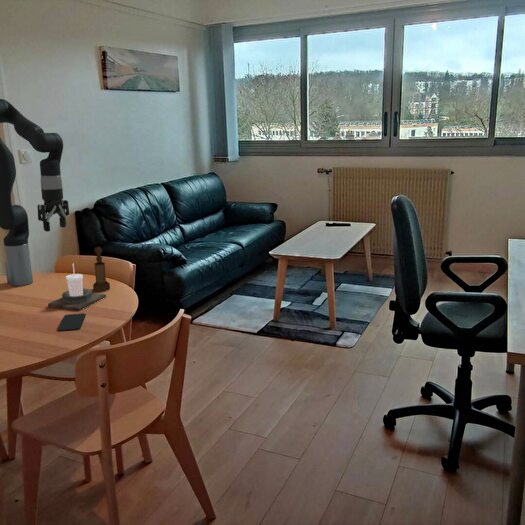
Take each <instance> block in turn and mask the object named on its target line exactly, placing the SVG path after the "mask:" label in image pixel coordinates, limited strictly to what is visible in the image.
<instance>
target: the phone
mask: <svg viewBox="0 0 525 525" xmlns="http://www.w3.org/2000/svg"><path fill="white" fill-rule="evenodd" d="M86 316H87V314H86V313H70V314H65V315H63V317H62V320H61V321H60V323H59V325H58V326H57V332H68V331H69V332H71V331H80V330H81V328H82V326H83V323H84V321H85V319H86Z"/></svg>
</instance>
